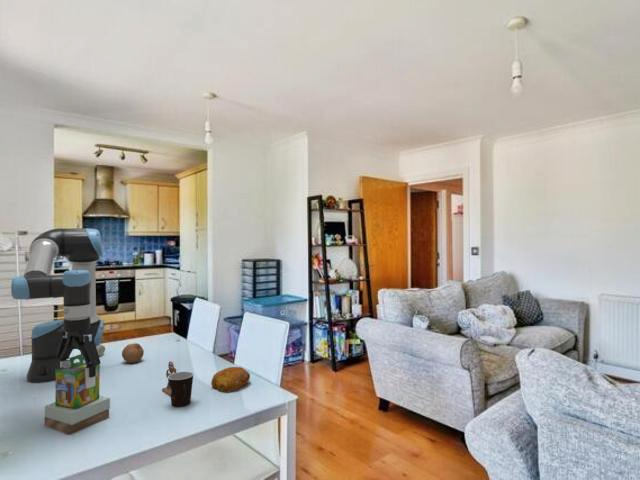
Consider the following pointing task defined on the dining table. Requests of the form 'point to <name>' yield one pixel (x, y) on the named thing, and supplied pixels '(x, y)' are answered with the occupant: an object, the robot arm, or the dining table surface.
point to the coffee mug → (180, 388)
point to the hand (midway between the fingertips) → (77, 383)
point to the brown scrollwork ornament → (167, 390)
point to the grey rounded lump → (100, 349)
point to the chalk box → (75, 385)
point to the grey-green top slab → (77, 411)
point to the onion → (132, 353)
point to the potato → (230, 379)
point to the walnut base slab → (77, 426)
